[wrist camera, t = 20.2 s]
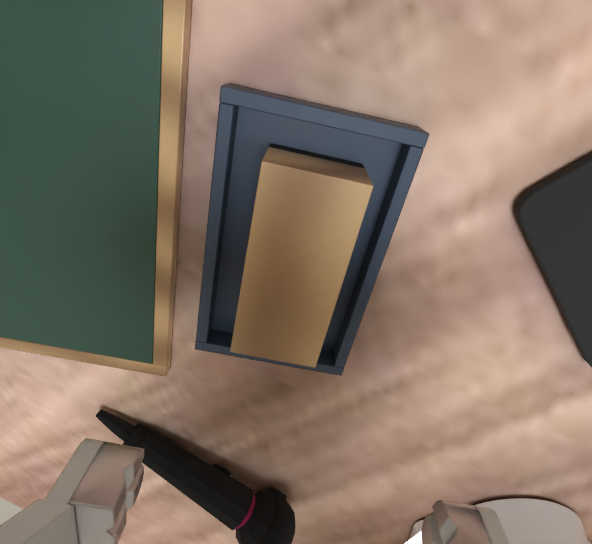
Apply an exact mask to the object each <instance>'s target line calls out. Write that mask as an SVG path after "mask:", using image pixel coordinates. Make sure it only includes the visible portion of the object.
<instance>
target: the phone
mask: <svg viewBox="0 0 592 544" xmlns="http://www.w3.org/2000/svg"><path fill="white" fill-rule="evenodd" d="M515 216H516V219H517V221H518V223H519V225H520V227H521V229H522V232H523V234H524V236H525V238H526V240H527V242H528V244H529V246H530V248H531V250H532V252H533V254H534V256H535V258H536V260H537V263H538V265H539V267H540V269H541V271H542V273H543V275H544V277H545V279H546V281H547V283H548V285H549V287H550V289H551V292H552V294H553V296H554V298H555V300H556V302H557V304H558V306H559V308H560V310H561V312H562V314H563V316H564V319H565V321H566V323H567V325H568V327H569V329H570V331H571V333H572V335H573V337H574V339H575V341H576V343H577V345H578V347H579V349H580V351H581V354H582V356H583V357H584V359H585V360H586V361H587V363H588V364H589V365H590V366H591V367H592V153H591V154H589V155H587V156H586V157H584V158H582V159H580V160H579V161H577V162H575V163H573V164H572V165H570V166H568V167H566V168H564V169H563V170H561V171H559V172H557V173H556V174H554V175H552V176H550V177H549V178H547V179H545V180H543V181H542V182H540V183H538V184H536V185H535V186H533V187H531V188H530V189H528V190H527V191H525V192H524V193H523V194H522V195H521V196H520V197H519V199H518V200H517V202H516V205H515Z"/></svg>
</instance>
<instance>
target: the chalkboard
mask: <svg viewBox="0 0 592 544" xmlns="http://www.w3.org/2000/svg"><path fill="white" fill-rule="evenodd" d="M191 10H192V0H0V347H1V348H7V349H13V350H18V351H24V352H30V353H35V354H41V355H47V356H52V357H58V358H64V359H69V360H75V361H81V362H87V363H92V364H98V365H104V366H109V367H115V368H121V369H126V370H132V371H138V372H143V373H149V374H155V375H160V376H166V375H167V373H168V371H169V369H170V364H171V348H172V331H173V314H174V297H175V280H176V263H177V246H178V229H179V213H180V196H181V179H182V162H183V145H184V128H185V111H186V95H187V78H188V61H189V44H190V27H191Z"/></svg>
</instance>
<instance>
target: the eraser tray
mask: <svg viewBox="0 0 592 544" xmlns="http://www.w3.org/2000/svg"><path fill="white" fill-rule="evenodd" d="M428 136H429V133H427V132H426V131H424V130H423V129H421V128H420V127H417V126H413V125H408V124H404V123H400V122H395V121H391V120H387V119H382V118H378V117H374V116H369V115H365V114H361V113H357V112H352V111H348V110H344V109H339V108H335V107H331V106H326V105H322V104H318V103H313V102H309V101H305V100H300V99H296V98H292V97H287V96H283V95H279V94H274V93H270V92H266V91H261V90H257V89H253V88H249V87H244V86H240V85H236V84H231V83H229V84H226V85H223V86H221V92H220V104H219V114H218V124H217V134H216V144H215V154H214V164H213V174H212V184H211V194H210V204H209V214H208V224H207V234H206V244H205V254H204V264H203V274H202V285H201V295H200V305H199V315H198V325H197V335H196V344H195V349H197V350H202V351H208V352H213V353H219V354H224V355H230V356H235V357H241V358H246V359H252V360H257V361H263V362H268V363H274V364H279V365H285V366H290V367H296V368H301V369H307V370H312V371H318V372H323V373H329V374H334V375H340V376H341V375H342V372H343V370H344V366H345V364H346V361H347V358H348V355H349V353H350V350H351V347H352V344H353V342H354V339H355V336H356V333H357V331H358V328H359V325H360V322H361V320H362V317H363V314H364V311H365V309H366V306H367V303H368V300H369V298H370V295H371V292H372V289H373V287H374V284H375V281H376V279H377V276H378V273H379V270H380V268H381V265H382V262H383V259H384V257H385V254H386V251H387V248H388V246H389V243H390V240H391V237H392V235H393V232H394V229H395V226H396V224H397V221H398V218H399V215H400V213H401V210H402V207H403V204H404V202H405V199H406V196H407V193H408V191H409V188H410V185H411V182H412V180H413V177H414V174H415V171H416V169H417V166H418V163H419V161H420V158H421V155H422V152H423V148H424V147H425V145H426V142H427V139H428ZM271 143H273V144H277V145H282V146H286V147H291V148H295V149H299V150H304V151H308V152H313V153H317V154H321V155H326V156H330V157H335V158H339V159H344V160H348V161H352V162H357V163H361V164H363V166H364V168H365V169H366V172H367V174H368V176H369V178H370V180H371V182H372V184H373V189H372V192H371V196H370V199H369V202H368V205H367V208H366V211H365V214H364V217H363V221H362V224H361V227H360V230H359V233H358V236H357V239H356V242H355V246H354V249H353V252H352V255H351V258H350V261H349V264H348V267H347V271H346V274H345V277H344V280H343V283H342V286H341V289H340V292H339V295H338V299H337V302H336V305H335V308H334V311H333V314H332V317H331V320H330V324H329V327H328V330H327V333H326V336H325V339H324V342H323V345H322V349H321V352H320V355H319V358H318V361H317V364H316V367H315V368H314V367H309V366H303V365H298V364H293V363H287V362H282V361H276V360H271V359H266V358H260V357H255V356H249V355H244V354H239V353H233V352H230V349H231V343H232V337H233V331H234V325H235V319H236V313H237V307H238V301H239V295H240V289H241V283H242V277H243V270H244V264H245V258H246V252H247V246H248V240H249V234H250V228H251V222H252V216H253V210H254V204H255V198H256V192H257V186H258V180H259V174H260V168H261V162H262V160H263V158H264V156H265V153H266V151H267V149H268V147H269V145H270V144H271Z"/></svg>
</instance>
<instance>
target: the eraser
mask: <svg viewBox="0 0 592 544" xmlns="http://www.w3.org/2000/svg"><path fill="white" fill-rule="evenodd" d="M372 189H373V184H372V182H371V180H370V178H369V176H368V174H367V172H366V169H365V168H364V166H363V164H361V163H357V162H352V161H348V160H344V159H339V158H335V157H330V156H326V155H321V154H317V153H313V152H308V151H304V150H299V149H295V148H291V147H286V146H282V145H277V144H273V143H271V144H270V145H269V147H268V149H267V151H266V153H265V156H264V158H263V160H262V162H261V168H260V174H259V180H258V186H257V192H256V198H255V204H254V210H253V216H252V222H251V228H250V234H249V240H248V246H247V252H246V258H245V264H244V270H243V277H242V283H241V289H240V295H239V301H238V307H237V313H236V319H235V325H234V331H233V337H232V343H231V349H230V352H233V353H239V354H244V355H249V356H255V357H260V358H266V359H271V360H276V361H282V362H287V363H293V364H298V365H303V366H309V367H314V368H315V367H316V364H317V361H318V358H319V355H320V352H321V349H322V345H323V342H324V339H325V336H326V333H327V330H328V327H329V324H330V320H331V317H332V314H333V311H334V308H335V305H336V302H337V299H338V295H339V292H340V289H341V286H342V283H343V280H344V277H345V274H346V271H347V267H348V264H349V261H350V258H351V255H352V252H353V249H354V246H355V242H356V239H357V236H358V233H359V230H360V227H361V224H362V221H363V217H364V214H365V211H366V208H367V205H368V202H369V199H370V196H371V192H372Z"/></svg>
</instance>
